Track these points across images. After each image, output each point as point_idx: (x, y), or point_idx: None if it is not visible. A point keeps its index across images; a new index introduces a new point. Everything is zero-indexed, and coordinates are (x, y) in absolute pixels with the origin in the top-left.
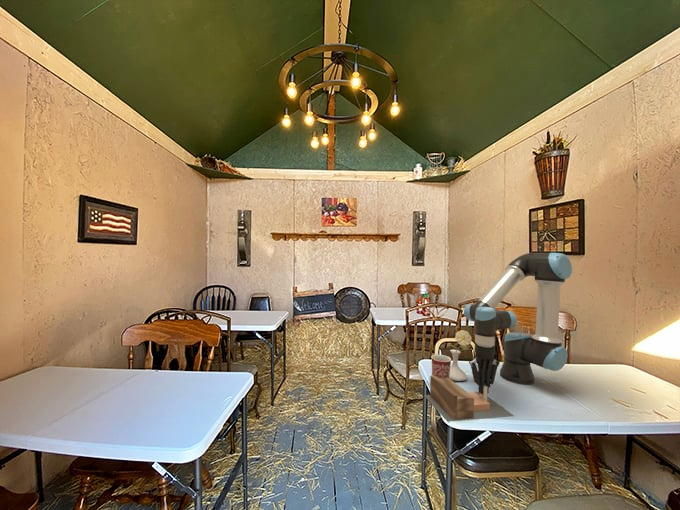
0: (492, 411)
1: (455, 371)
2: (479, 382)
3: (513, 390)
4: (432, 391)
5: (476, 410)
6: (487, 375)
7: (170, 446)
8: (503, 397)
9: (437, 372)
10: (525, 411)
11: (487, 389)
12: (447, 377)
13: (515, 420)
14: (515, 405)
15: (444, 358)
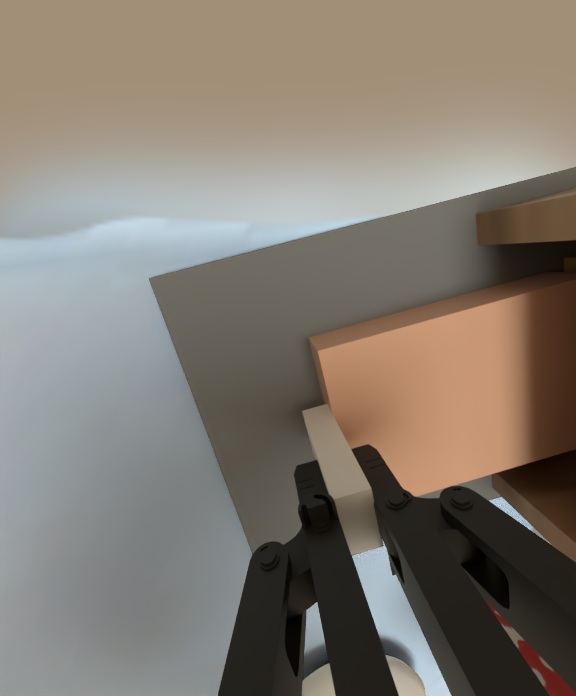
0: (295, 322)
1: None
2: (467, 517)
3: (18, 633)
4: None
5: (414, 309)
6: (388, 675)
7: None
8: (127, 533)
9: None
10: (31, 373)
11: (312, 488)
12: (514, 640)
13: (165, 228)
14: (79, 444)
15: None
